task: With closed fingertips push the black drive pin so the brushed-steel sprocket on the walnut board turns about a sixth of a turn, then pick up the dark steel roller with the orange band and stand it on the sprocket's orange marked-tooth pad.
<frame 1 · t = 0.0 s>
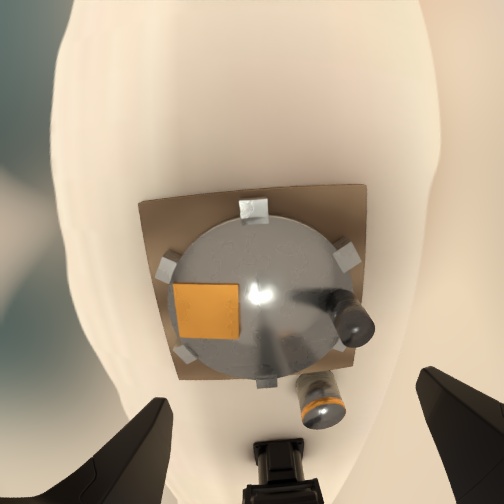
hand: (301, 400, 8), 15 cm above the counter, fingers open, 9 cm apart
sprocket: (262, 320, 19), point 4 cm above the counter, hinge at 0.0°
roller: (315, 381, 27), on the counter
sprocket base: (260, 294, 23), on the counter
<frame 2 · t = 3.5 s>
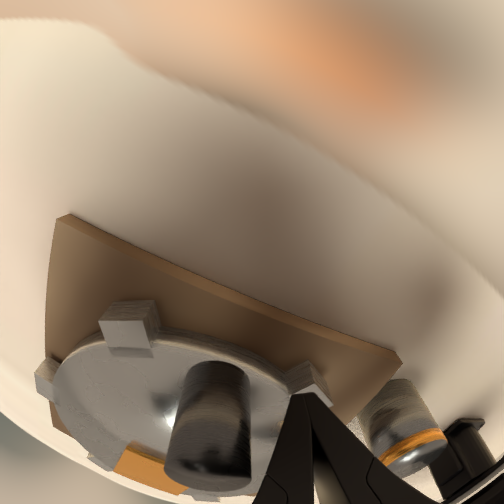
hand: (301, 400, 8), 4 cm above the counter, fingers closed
sprocket: (172, 469, 10), point 4 cm above the counter, hinge at 0.1°, touching gripper
roller: (385, 402, 14), on the counter
sprocket base: (184, 412, 14), on the counter
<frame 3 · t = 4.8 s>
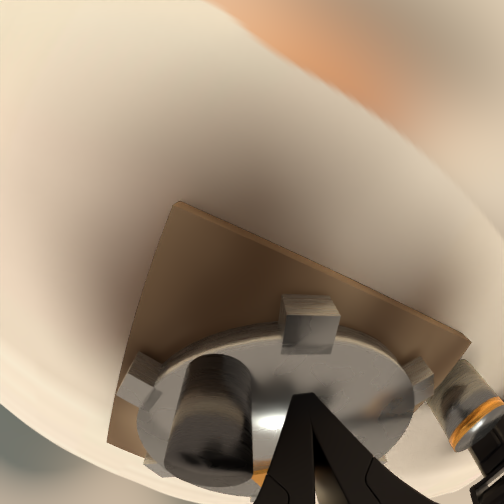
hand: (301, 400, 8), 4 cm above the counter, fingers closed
sprocket: (282, 471, 10), point 4 cm above the counter, hinge at 51.1°, touching gripper
roller: (448, 382, 14), on the counter
sprocket base: (276, 411, 14), on the counter
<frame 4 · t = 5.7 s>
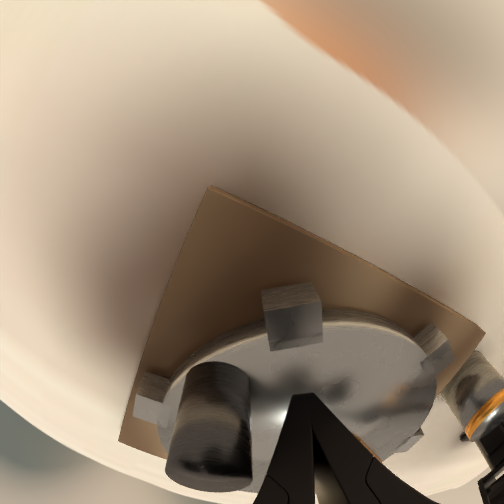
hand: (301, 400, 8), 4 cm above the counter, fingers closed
sprocket: (308, 464, 10), point 4 cm above the counter, hinge at 65.1°, touching gripper
roller: (461, 373, 14), on the counter
sprocket base: (297, 404, 14), on the counter
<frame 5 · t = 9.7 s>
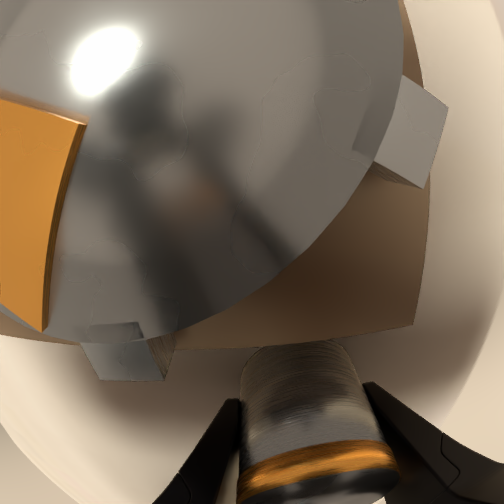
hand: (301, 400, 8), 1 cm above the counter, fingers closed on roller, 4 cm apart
sprocket: (13, 13, 2), point 4 cm above the counter, hinge at 65.2°
roller: (297, 379, 9), on the counter, touching gripper
sprocket base: (104, 60, 6), on the counter
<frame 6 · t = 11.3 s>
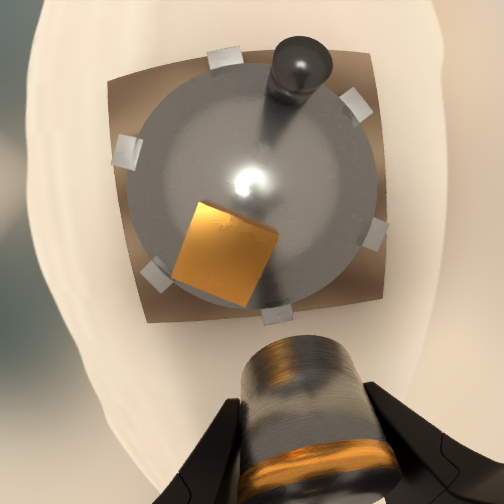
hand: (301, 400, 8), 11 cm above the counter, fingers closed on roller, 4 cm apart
sprocket: (253, 191, 13), point 4 cm above the counter, hinge at 65.2°
roller: (298, 379, 9), point 10 cm above the counter, touching gripper
sprocket base: (252, 185, 17), on the counter
when the fingers open (5 cm above the counter, at t = 13.0 s): roller stays where it is, resting on sprocket.
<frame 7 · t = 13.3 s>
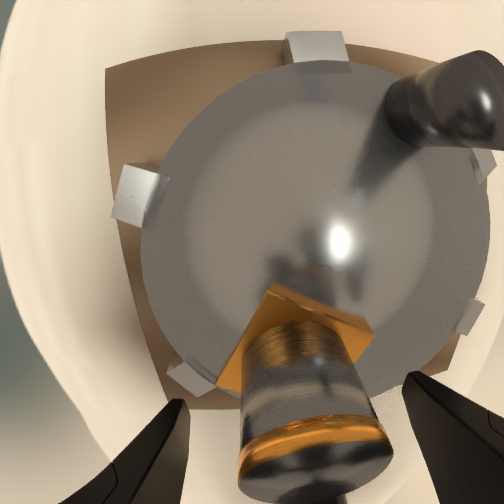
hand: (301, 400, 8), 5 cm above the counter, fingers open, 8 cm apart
sprocket: (363, 288, 8), point 4 cm above the counter, hinge at 65.3°, touching roller
roller: (294, 365, 10), point 3 cm above the counter, touching sprocket
sprocket base: (328, 246, 12), on the counter
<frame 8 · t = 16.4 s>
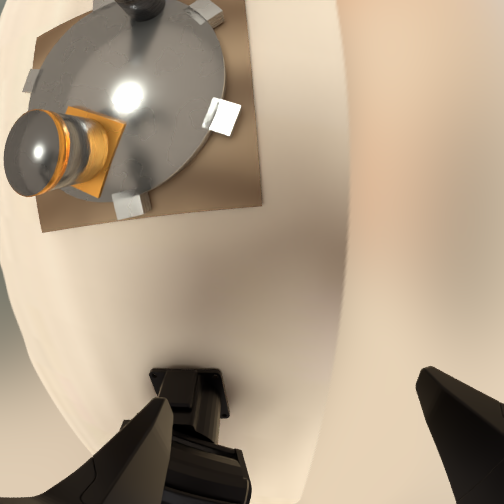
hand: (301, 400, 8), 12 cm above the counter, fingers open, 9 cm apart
sprocket: (98, 84, 12), point 4 cm above the counter, hinge at 65.3°, touching roller
roller: (80, 150, 14), point 3 cm above the counter, touching sprocket
sprocket base: (126, 96, 16), on the counter
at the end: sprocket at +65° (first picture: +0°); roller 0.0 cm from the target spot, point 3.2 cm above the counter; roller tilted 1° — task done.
